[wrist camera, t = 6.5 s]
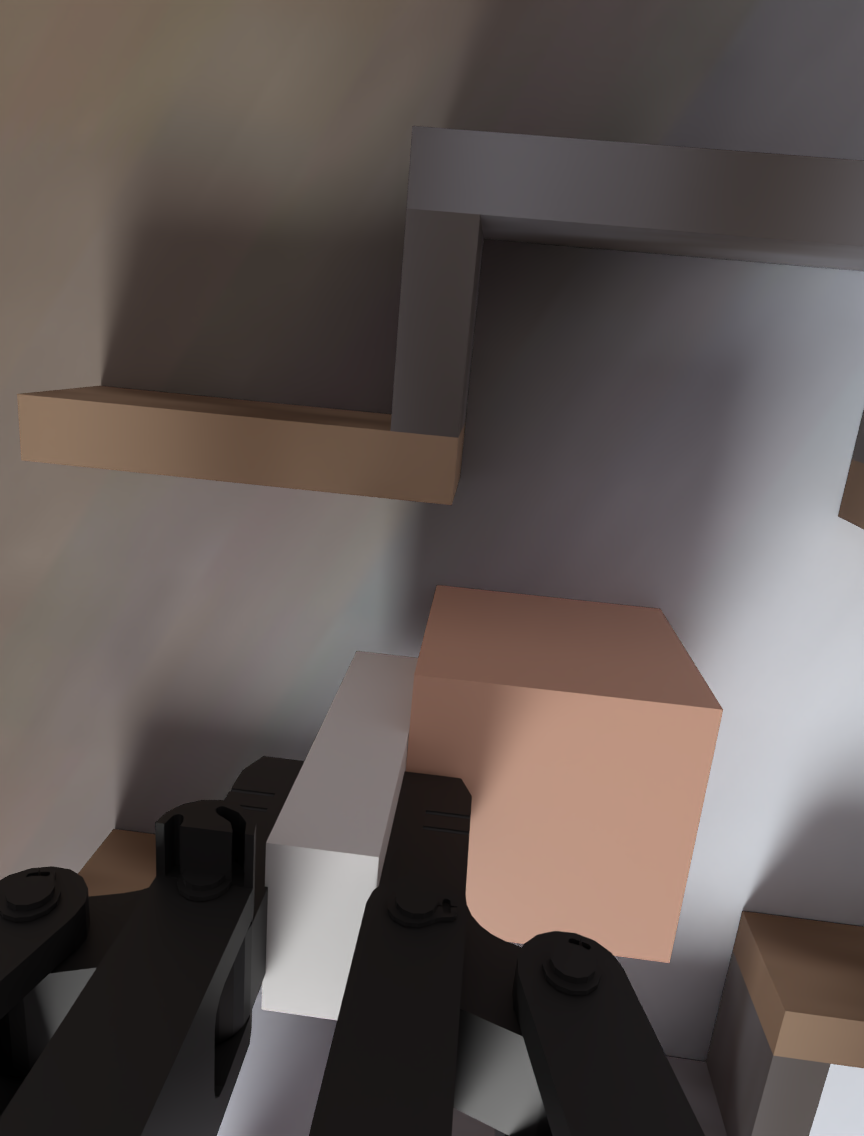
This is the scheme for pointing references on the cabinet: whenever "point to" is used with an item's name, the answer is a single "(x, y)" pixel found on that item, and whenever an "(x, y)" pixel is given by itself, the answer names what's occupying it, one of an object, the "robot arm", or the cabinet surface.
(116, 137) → the cabinet surface
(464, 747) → the block
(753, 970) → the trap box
